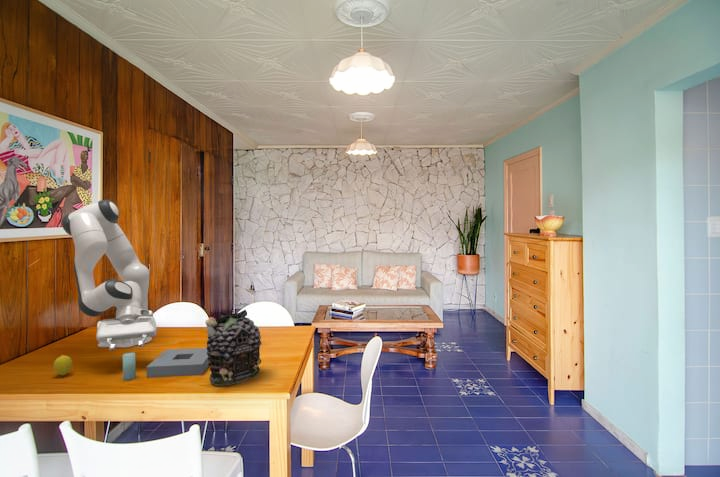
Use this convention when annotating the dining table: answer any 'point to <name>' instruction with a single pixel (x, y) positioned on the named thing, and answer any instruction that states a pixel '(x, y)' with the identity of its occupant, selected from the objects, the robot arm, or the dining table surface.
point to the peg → (129, 366)
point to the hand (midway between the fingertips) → (126, 347)
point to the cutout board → (179, 363)
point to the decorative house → (232, 348)
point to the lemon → (62, 365)
